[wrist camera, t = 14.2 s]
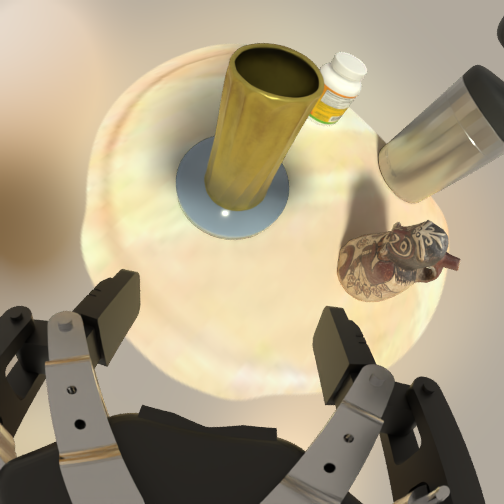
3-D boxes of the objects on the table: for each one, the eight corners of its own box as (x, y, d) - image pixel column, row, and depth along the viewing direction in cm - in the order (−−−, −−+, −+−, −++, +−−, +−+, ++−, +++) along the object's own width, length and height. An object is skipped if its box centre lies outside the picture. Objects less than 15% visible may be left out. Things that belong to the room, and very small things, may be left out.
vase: (191, 172, 25) (199, 51, 11) (244, 146, 26) (285, 33, 13) (227, 224, 24) (269, 123, 11) (279, 192, 26) (353, 94, 12)
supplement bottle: (303, 92, 32) (331, 42, 23) (338, 108, 33) (372, 62, 24) (296, 116, 31) (327, 62, 22) (335, 133, 32) (373, 86, 22)
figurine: (362, 225, 29) (436, 183, 18) (397, 272, 29) (476, 249, 18) (324, 267, 27) (403, 236, 16) (364, 316, 27) (451, 311, 15)
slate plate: (278, 145, 29) (282, 138, 28) (289, 239, 27) (295, 234, 26) (179, 141, 27) (178, 133, 25) (175, 241, 25) (174, 236, 23)
